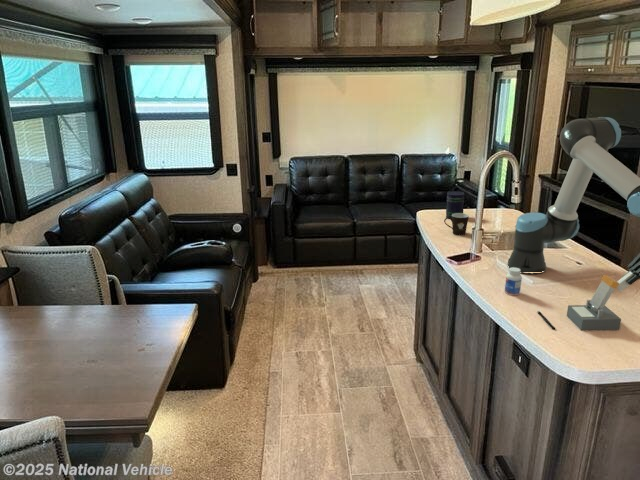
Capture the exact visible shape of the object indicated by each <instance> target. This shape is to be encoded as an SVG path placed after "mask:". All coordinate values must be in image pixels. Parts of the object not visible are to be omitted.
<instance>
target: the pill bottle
mask: <svg viewBox="0 0 640 480" xmlns="http://www.w3.org/2000/svg"><path fill="white" fill-rule="evenodd" d="M520 272H521V270H520V269H519V268H514V267H512V268H508V272H507V274H506V276H505V285H504V293H505V294H507V295H509V296H519V295H520V293H521V286H522V279H523V278H522V274H521V273H520Z"/></svg>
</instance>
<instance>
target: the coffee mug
mask: <svg viewBox="0 0 640 480" xmlns="http://www.w3.org/2000/svg"><path fill="white" fill-rule="evenodd" d="M469 217H470V215H469V214H466V213H464V212H463V213H456V214H452V219H451V218H446V217H445V219H444V224H445V225H446V226H447V227H449V228H450V229H452V234H453V235H454V236H465V235H466V233H467V228H468V227H467V226H468V224H469V223H468V221H469ZM446 220H450V221H451V223H452V226H450V225H449V224H448V223H446Z"/></svg>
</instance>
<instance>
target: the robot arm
mask: <svg viewBox="0 0 640 480" xmlns="http://www.w3.org/2000/svg"><path fill="white" fill-rule="evenodd" d="M621 138H622V129H621V127H620V124H619V122H617V120H616V119H614V118H612V117H608V116H607V117H605V116H598V117H589V118H576V119H573V120H570V121H569V122H568V123H566V124H565V125H564V127H562V129H561V131H560V134H559V141H560V142H559V143H560V145H561V148H562V150H564V152H565V153H566V154H567V155H568V156H569V157H570V158H572V160H571V163H570V165H569V168H568V171H567V173H566V176H565V177H564V180H563V183H562V185H561V187H560V189H559V192H558V195H557V198H556V200H555V202H554V204H553V205H551V206H549V207H548V208H547V211H546V214H545V213H542V212H526V213H523V214H521V215H519V216H518V217H517V219H516V223H515V232H514V242H513V250H512V251H511V253H510V256H509V258H508V260H507V265H508V266H509V268H512V267H514V268H519V269H520V270H521V272H542V271H544V270H545V271H546V269H547V263H546V261H545V260H546V259H545V255H544V249H545V244H548V243H549V244H550V243H555V242H563V241H567V240H570V239H572V238H574V237H576V235H577V234H578V232H579V230H580V223H579V222H580V220H579V215H578V212H577V210H578V208H579V204H580V203H581V201H582V199H583V197H584V194H585V191H586V190H587V187H588V184H589V182H590V180H591V179H592V176H593V174H595V175H596V176H598V178H600V179H601V180H602V181H603V182H604V183H605V184H606V185H608V186H609V187H610V188H612V189H613V190H614V191H615V192H616V193H617V194H618V195H620V196H621V198H623V199H625V200H626V201H627V202H626V203H627V205H626V207H627V208H628V211H629V213H630V214H632V215H633V216H636V217H638V218H639V217H640V177H639V176H638V175H637V174H636V173H635V172H633V171H632V170H631V169H630V168H628V167H627V166H626V165H624V164H623V163H622V162H621V161H619V160H618V159H617V158H615V157H614V156H613V155H612V154H611V153H609V149H612V148H614V147H616V146H617V145H618V144H619V142H620V141H621ZM508 266H507V267H508ZM509 268H508V269H509ZM627 269H628V271H627V272H626V273H625V274H624V275H622V276H621V278H619V279H618V280H616V281H617V282H618V283H619V285H618V286H617V288H616V289H617V291H619V292H620V293H621V292H623V291H624V290H626V288H628V287H629V286H632V285H633V284H634V283H636V282H637V281H638V280H640V252H639V253H638V254H637V255H636V256H635V257H634V259H633V260H632V261H631V262H630V263H629V264H628V265H627Z"/></svg>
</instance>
